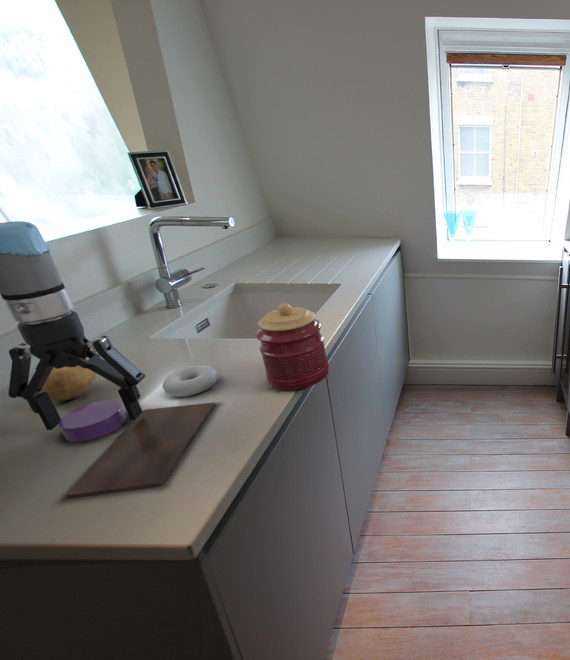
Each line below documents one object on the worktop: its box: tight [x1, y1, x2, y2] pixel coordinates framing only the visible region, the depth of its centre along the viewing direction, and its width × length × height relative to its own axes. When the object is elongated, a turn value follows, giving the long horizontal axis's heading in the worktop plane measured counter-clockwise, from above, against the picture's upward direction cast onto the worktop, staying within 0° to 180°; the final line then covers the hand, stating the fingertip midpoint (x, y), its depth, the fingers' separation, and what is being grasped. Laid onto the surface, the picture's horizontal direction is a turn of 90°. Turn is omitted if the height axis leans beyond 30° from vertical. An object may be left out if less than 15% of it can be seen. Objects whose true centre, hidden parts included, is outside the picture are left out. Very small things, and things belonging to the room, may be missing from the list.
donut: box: [162, 364, 218, 398], centre depth 96 cm, size 10×4×10 cm
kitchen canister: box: [255, 302, 330, 391], centre depth 97 cm, size 13×13×18 cm
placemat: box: [65, 402, 217, 499], centre depth 79 cm, size 13×23×1 cm, turn 11°
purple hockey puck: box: [58, 399, 127, 443], centre depth 83 cm, size 9×9×3 cm
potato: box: [39, 366, 97, 402], centre depth 92 cm, size 10×14×8 cm
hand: (96, 420), depth 83 cm, fingers open, 13 cm apart
